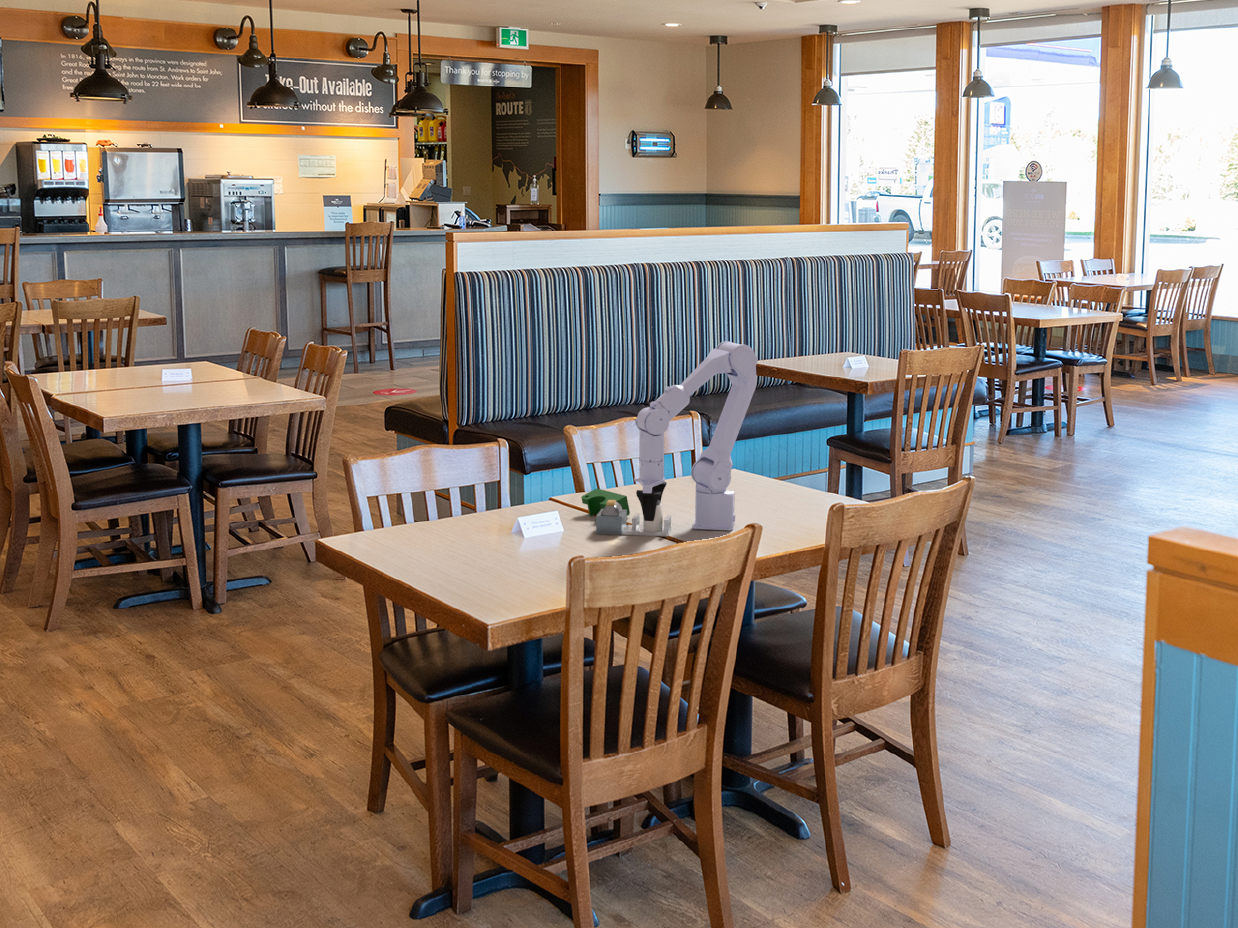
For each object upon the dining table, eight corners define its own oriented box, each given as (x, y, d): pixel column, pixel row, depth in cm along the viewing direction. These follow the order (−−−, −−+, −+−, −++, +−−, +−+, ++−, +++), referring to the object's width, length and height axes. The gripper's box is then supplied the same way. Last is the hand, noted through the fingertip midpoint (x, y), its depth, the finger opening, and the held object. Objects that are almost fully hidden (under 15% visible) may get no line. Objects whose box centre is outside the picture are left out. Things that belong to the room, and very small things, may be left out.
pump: (649, 525, 290) (649, 497, 289) (666, 528, 288) (666, 500, 287) (639, 529, 287) (639, 501, 285) (656, 532, 284) (656, 503, 283)
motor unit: (671, 529, 290) (671, 499, 289) (667, 537, 283) (667, 506, 282) (601, 526, 293) (601, 497, 292) (596, 534, 286) (596, 504, 285)
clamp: (591, 531, 305) (575, 499, 305) (608, 522, 309) (593, 489, 309) (617, 522, 296) (600, 489, 295) (634, 513, 299) (618, 479, 299)
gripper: (639, 453, 292) (639, 508, 294) (629, 465, 278) (629, 523, 280) (668, 454, 290) (668, 509, 293) (660, 466, 276) (660, 524, 279)
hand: (651, 516), depth 287 cm, fingers open, 7 cm apart
